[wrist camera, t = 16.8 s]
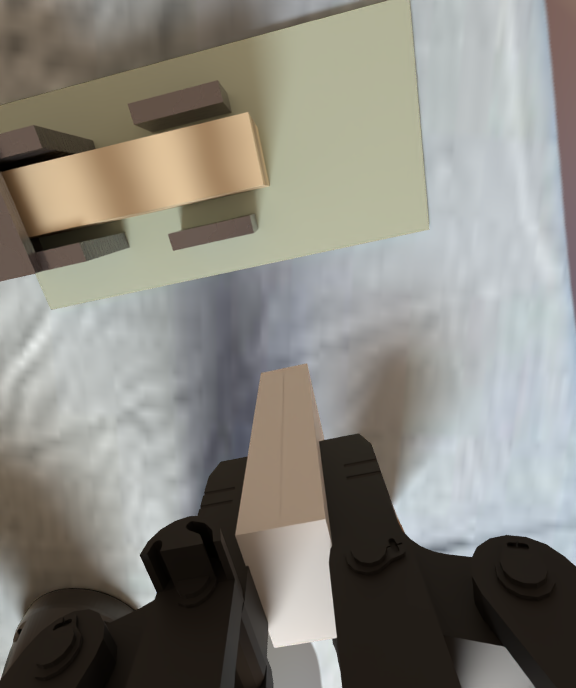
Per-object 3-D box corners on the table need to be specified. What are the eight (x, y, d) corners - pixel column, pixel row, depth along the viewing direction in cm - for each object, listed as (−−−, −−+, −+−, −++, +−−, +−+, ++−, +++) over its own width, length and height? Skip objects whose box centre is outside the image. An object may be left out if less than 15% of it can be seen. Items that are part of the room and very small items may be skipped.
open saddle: (185, 245, 32) (172, 250, 28) (147, 114, 29) (127, 103, 25) (258, 228, 31) (254, 232, 28) (227, 93, 28) (217, 80, 25)
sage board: (53, 308, 34) (50, 309, 34) (-31, 115, 29) (-35, 114, 29) (427, 229, 31) (429, 229, 31) (407, -3, 26) (409, -6, 26)
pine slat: (50, 235, 32) (-3, 244, 26) (29, 182, 30) (-32, 180, 25) (270, 186, 30) (263, 184, 24) (257, 128, 29) (248, 112, 23)
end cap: (92, 140, 29) (24, 122, 22) (129, 247, 32) (79, 263, 25) (-9, 165, 30) (-107, 157, 23) (36, 268, 33) (-39, 290, 25)
